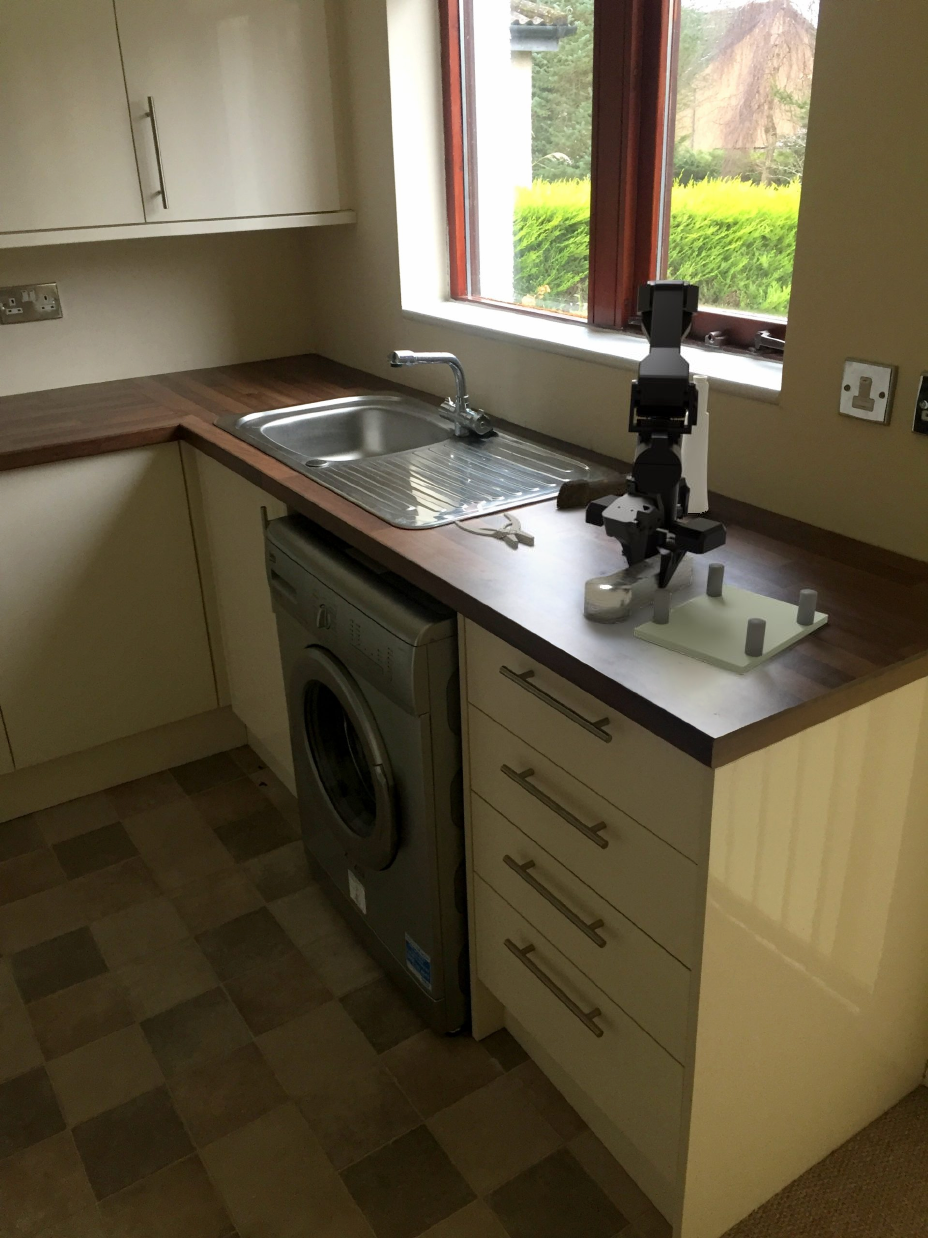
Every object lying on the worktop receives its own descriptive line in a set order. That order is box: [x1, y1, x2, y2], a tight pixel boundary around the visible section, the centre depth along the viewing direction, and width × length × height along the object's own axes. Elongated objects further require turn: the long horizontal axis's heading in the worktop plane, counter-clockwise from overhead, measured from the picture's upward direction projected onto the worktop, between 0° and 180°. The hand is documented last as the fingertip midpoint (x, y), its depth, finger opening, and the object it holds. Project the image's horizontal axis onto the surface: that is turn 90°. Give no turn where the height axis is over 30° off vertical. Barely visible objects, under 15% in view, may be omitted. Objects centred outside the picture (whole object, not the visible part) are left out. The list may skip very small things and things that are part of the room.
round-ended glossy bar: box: [583, 553, 694, 625], centre depth 134 cm, size 6×19×4 cm, turn 135°
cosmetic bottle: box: [677, 374, 710, 514], centre depth 165 cm, size 6×6×22 cm
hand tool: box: [556, 472, 632, 509], centre depth 175 cm, size 19×4×5 cm, turn 121°
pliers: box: [454, 512, 535, 549], centre depth 160 cm, size 10×2×15 cm
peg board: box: [633, 562, 829, 676], centre depth 125 cm, size 15×20×5 cm
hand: (649, 583), depth 136 cm, fingers closed on round-ended glossy bar, 4 cm apart
